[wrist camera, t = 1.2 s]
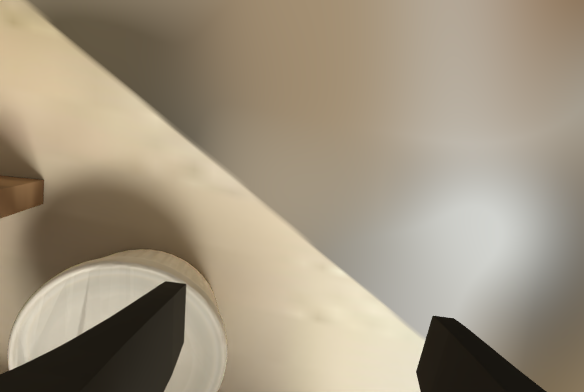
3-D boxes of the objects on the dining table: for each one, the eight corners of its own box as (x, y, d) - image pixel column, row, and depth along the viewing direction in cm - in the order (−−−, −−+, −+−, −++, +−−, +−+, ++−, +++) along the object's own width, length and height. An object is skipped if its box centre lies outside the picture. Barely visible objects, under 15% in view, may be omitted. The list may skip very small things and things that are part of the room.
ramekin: (25, 271, 22) (-40, 312, 17) (191, 208, 23) (177, 229, 18) (103, 410, 24) (66, 482, 19) (252, 348, 25) (255, 402, 20)
